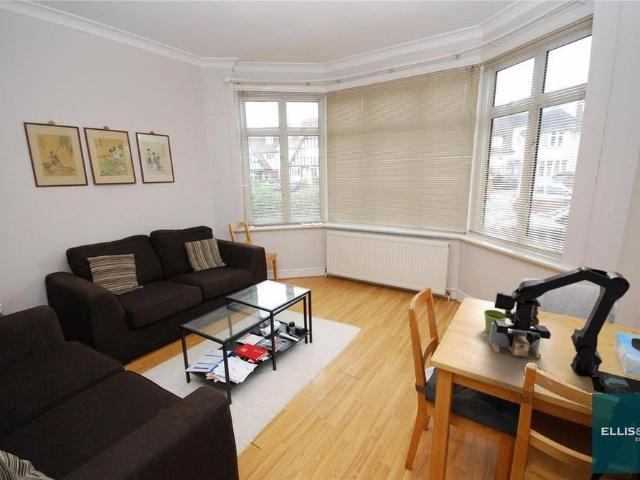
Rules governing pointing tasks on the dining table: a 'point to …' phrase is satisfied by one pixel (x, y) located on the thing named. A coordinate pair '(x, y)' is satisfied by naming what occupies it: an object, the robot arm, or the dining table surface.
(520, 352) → the cabinet block
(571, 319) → the dining table surface
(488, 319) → the plant pot
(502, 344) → the grey toy bench
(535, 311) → the wooden figurine
